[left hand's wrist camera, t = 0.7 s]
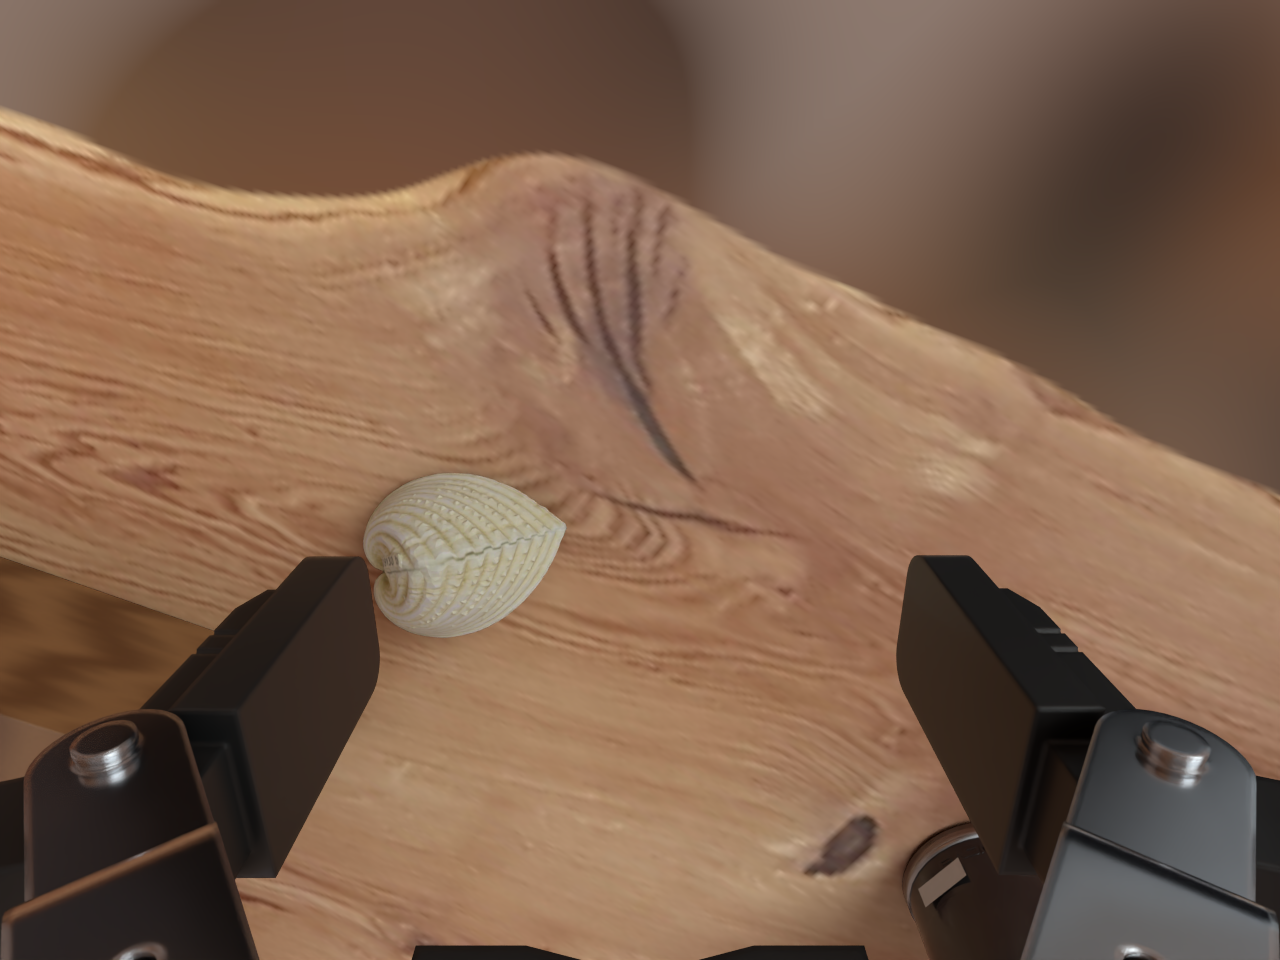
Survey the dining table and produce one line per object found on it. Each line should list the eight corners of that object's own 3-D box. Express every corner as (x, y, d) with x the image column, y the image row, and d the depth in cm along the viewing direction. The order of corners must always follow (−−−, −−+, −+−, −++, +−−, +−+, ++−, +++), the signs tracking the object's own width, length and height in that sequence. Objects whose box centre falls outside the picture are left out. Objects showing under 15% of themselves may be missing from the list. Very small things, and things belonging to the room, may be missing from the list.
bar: (362, 681, 43) (294, 807, 34) (339, 742, 44) (269, 876, 36) (-100, 521, 39) (-306, 617, 31) (-108, 593, 41) (-306, 704, 32)
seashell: (311, 495, 36) (415, 466, 31) (452, 477, 43) (555, 451, 38) (343, 664, 36) (452, 661, 31) (479, 619, 43) (585, 611, 38)
